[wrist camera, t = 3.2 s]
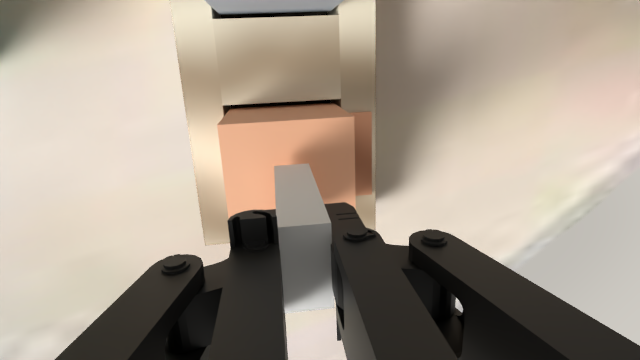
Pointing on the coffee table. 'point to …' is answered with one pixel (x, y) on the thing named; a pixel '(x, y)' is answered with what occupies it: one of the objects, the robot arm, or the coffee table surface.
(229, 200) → the terracotta block
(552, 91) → the coffee table surface
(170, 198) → the coffee table surface
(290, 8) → the slate block
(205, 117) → the board
